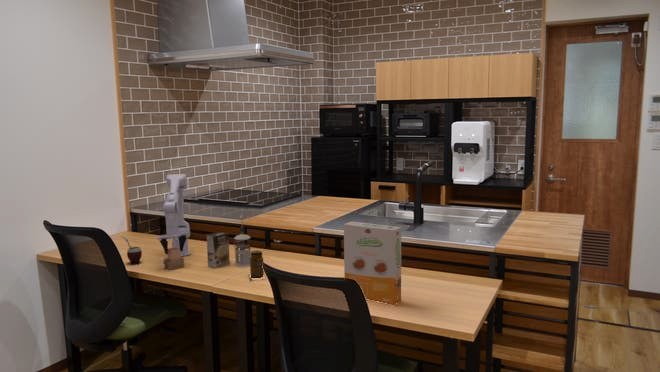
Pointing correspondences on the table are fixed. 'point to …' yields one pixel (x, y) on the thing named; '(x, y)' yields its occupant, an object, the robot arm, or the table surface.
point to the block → (174, 253)
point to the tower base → (174, 266)
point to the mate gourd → (133, 254)
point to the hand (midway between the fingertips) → (174, 252)
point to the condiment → (256, 264)
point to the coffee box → (218, 249)
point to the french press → (242, 250)
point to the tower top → (173, 261)
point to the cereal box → (374, 260)
